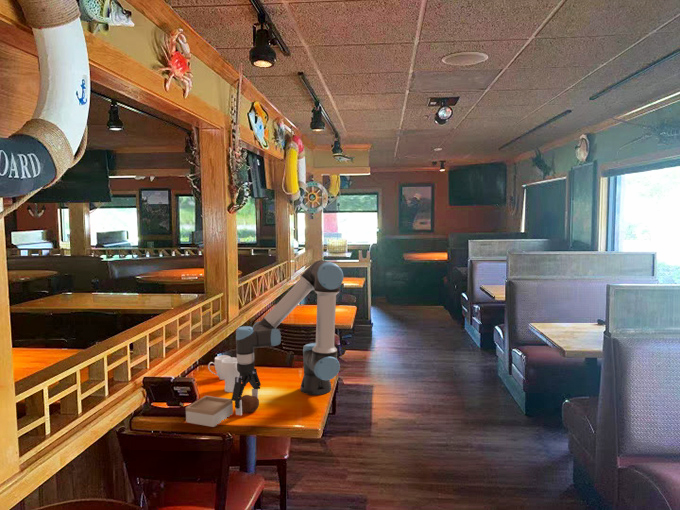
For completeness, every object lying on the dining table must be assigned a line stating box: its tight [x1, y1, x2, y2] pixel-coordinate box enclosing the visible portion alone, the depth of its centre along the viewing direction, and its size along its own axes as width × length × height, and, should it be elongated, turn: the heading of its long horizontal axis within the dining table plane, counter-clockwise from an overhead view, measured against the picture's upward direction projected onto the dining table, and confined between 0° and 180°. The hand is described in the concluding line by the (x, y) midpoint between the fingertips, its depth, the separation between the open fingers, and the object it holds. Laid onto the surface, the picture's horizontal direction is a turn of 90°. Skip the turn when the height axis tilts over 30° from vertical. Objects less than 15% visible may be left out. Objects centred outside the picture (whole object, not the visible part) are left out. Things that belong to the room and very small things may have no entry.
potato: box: [240, 394, 260, 414], centre depth 221 cm, size 8×11×8 cm
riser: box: [185, 395, 234, 428], centre depth 215 cm, size 14×14×7 cm
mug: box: [207, 354, 232, 381], centre depth 264 cm, size 12×8×11 cm
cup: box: [220, 356, 240, 393], centre depth 248 cm, size 11×11×15 cm
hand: (247, 408), depth 221 cm, fingers open, 13 cm apart
